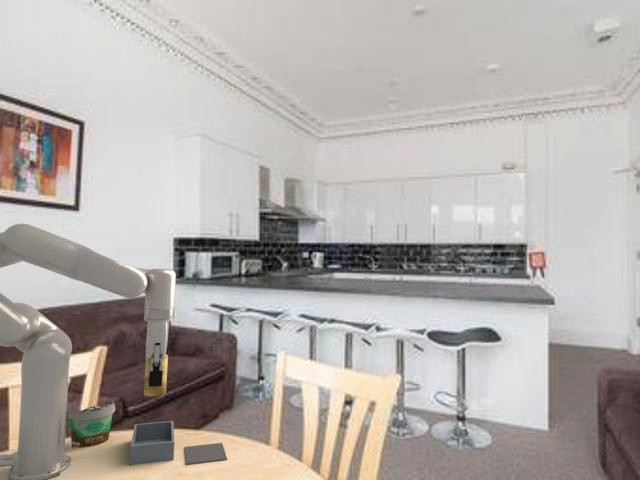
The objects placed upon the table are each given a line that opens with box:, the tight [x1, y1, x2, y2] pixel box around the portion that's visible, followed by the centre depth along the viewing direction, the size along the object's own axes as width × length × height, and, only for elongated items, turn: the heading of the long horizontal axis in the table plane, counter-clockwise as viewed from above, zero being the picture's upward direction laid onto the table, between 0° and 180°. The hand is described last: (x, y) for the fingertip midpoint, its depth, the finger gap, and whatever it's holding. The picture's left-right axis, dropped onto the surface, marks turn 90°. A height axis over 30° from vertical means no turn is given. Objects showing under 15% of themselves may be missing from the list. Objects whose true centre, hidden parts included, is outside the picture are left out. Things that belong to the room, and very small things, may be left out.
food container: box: [67, 399, 116, 448], centre depth 118 cm, size 12×6×10 cm, turn 143°
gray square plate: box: [184, 442, 228, 466], centre depth 113 cm, size 10×10×1 cm
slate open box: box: [129, 420, 175, 466], centre depth 114 cm, size 10×15×5 cm
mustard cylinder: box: [143, 354, 169, 398], centre depth 115 cm, size 6×6×10 cm
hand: (155, 382), depth 115 cm, fingers closed on mustard cylinder, 5 cm apart
